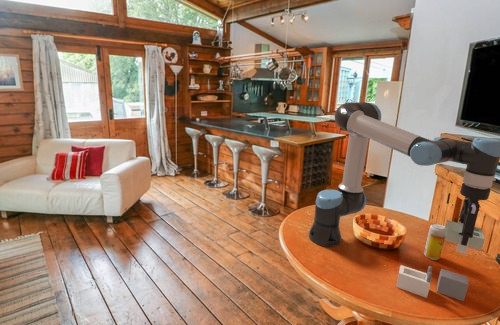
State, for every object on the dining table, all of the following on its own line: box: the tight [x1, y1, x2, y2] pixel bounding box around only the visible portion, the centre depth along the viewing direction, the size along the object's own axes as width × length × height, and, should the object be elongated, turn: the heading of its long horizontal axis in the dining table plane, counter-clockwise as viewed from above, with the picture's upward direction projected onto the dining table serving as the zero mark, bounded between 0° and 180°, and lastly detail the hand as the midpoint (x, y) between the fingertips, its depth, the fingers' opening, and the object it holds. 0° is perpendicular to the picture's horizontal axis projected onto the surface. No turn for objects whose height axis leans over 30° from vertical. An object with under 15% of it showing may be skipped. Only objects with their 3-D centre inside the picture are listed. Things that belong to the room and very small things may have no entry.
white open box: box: [395, 264, 433, 299], centre depth 105 cm, size 10×6×10 cm, turn 57°
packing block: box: [436, 268, 469, 302], centre depth 104 cm, size 8×5×7 cm, turn 57°
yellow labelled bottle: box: [423, 223, 446, 261], centre depth 125 cm, size 6×6×15 cm
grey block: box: [444, 219, 485, 251], centre depth 98 cm, size 10×9×4 cm
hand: (459, 245), depth 100 cm, fingers closed on grey block, 9 cm apart
